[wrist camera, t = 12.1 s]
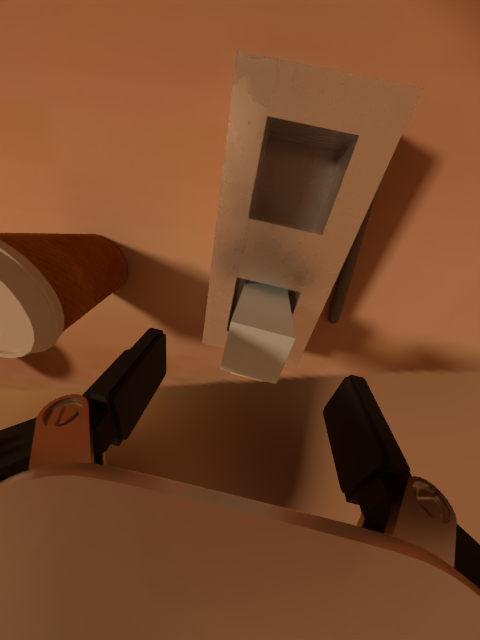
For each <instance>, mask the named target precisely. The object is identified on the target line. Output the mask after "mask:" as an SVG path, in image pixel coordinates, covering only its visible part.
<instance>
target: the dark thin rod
mask: <svg viewBox="0 0 480 640" xmlns="http://www.w3.org/2000/svg"><path fill="white" fill-rule="evenodd" d="M374 197H375V195H374ZM373 200H374V198H373ZM373 200H372V202H371V204H370V206H369V209H368V211H367V213H366V215H365V217H364V220H363V222H362V224H361V226H360V228H359V231H358V233H357V235H356V237H355V239H354V242H353V244H352V246H351V248H350V250H349V253H348V255H347V257H346V259H345V261H344V264H343V266H342V269H341V273H340V277H339V281H338V285H337V288H336V292H335V296H334V300H333V304H332V307H331V311H330V315H329V321H330V322H331V323H336V322H338V320H339V316H340V313H341V309H342V306H343V303H344V299H345V296H346V292H347V289H348V285H349V282H350V279H351V275H352V272H353V268H354V265H355V262H356V258H357V255H358V251H359V248H360V245H361V241H362V238H363V234H364V231H365V227H366V224H367V221H368V217H369V214H370V210H371V207H372V204H373Z"/></svg>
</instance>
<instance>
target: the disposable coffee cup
mask: <svg viewBox="0 0 480 640" xmlns="http://www.w3.org/2000/svg"><path fill="white" fill-rule="evenodd" d="M127 275H128V268H127V263H126V261H125V258H124V256H123V254H122V253H121V251H120V250H119V249H118V247H117V246H116V245H115V244H113V243H112V242H111V241H110V240H108V239H107V238H105V237H103V236H100V235H96V234H44V233H41V234H39V233H0V357H5V358H17V357H23V356H25V355H28V354H31V353H38V352H43V351H45V350H47V349H49V348H51V347H52V346H53V345H54V344H55V343H56V342H57V340H58V338H59V337H60V335H61V334H62V332H63V331H65V329H67V328H68V327H69V326H71V325H72V324H73V323H75V322H76V321H77V320H78V319H80V318H81V317H82V316H83V315H85V313H87V312H89V311H90V310H91V309H92V308H94V307H95V306H96V305H97V304H98V303H100V302H101V301H103V300H104V299H105V298H106V297H108V296H109V295H110V294H111V293H112V292H114V291H115V290H117V289H118V288H119V287H120V286H122V285H123V284H124V283H125V281H126V279H127Z"/></svg>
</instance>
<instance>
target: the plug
mask: <svg viewBox="0 0 480 640" xmlns="http://www.w3.org/2000/svg"><path fill="white" fill-rule="evenodd" d="M295 339H296V337H295V331H294V325H293V319H292V313H291V307H290V301H289V295H288V290H287V289H285V288H281V287H276V286H272V285H268V284H264V283H259V282H255V281H251V280H246V282H245V284H244V287H243V290H242V293H241V295H240V298H239V301H238V303H237V306H236V309H235V312H234V314H233V317H232V320H231V323H230V327H229V332H228V336H227V341H226V345H225V350H224V354H223V359H222V363H221V368H220V369H221V370H225V371H229V372H231V373H232V374H236V375H240V376H243V377H247V378H251V379H255V380H258V381H262V382H263V381H266V382H270V383H274V384H276V382H277V380H278V378H279V376H280V373H281V371H282V369H283V366H284V364H285V362H286V360H287V357H288V355H289V353H290V350H291V348H292V346H293V344H294V341H295Z"/></svg>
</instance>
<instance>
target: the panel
mask: <svg viewBox="0 0 480 640" xmlns="http://www.w3.org/2000/svg"><path fill="white" fill-rule="evenodd" d="M422 89H423V88H419V87H414V86H409V85H404V84H399V83H394V82H389V81H384V80H379V79H374V78H369V77H364V76H359V75H354V74H349V73H345V72H340V71H335V70H330V69H325V68H320V67H315V66H310V65H305V64H300V63H295V62H290V61H285V60H280V59H275V58H270V57H265V56H260V55H255V54H250V53H246V52H241V51H237V55H236V63H235V72H234V80H233V88H232V97H231V105H230V114H229V122H228V130H227V139H226V147H225V155H224V164H223V172H222V180H221V189H220V197H219V205H218V214H217V222H216V231H215V239H214V247H213V256H212V264H211V272H210V281H209V289H208V297H207V306H206V314H205V323H204V331H203V339H202V344H206V345H211V346H215V347H219V348H223V349H225V345H226V341H227V336H228V332H229V327H230V323H231V320H232V317H233V314H234V312H235V309H236V306H237V303H238V301H239V298H240V295H241V293H242V290H243V287H244V284H245V282H246V280H251V281H255V282H259V283H264V284H268V285H272V286H276V287H281V288H285V289H287V290H288V295H289V301H290V307H291V313H292V319H293V325H294V331H295V337H296V339H295V341H294V344H293V346H292V348H291V350H290V353H289V355H288V357H287V360H286V362H285V364H288V365H292V366H296V367H297V365H298V363H299V361H300V359H301V356H302V354H303V352H304V350H305V348H306V345H307V343H308V341H309V339H310V336H311V334H312V332H313V330H314V328H315V325H316V323H317V321H318V319H319V317H320V314H321V312H322V310H323V308H324V306H325V303H326V301H327V299H328V297H329V295H330V292H331V290H332V288H333V286H334V284H335V281H336V279H337V277H338V275H339V273H340V270H341V268H342V266H343V264H344V261H345V259H346V257H347V255H348V253H349V250H350V248H351V246H352V244H353V242H354V239H355V237H356V235H357V233H358V231H359V228H360V226H361V224H362V222H363V220H364V217H365V215H366V213H367V211H368V209H369V206H370V204H371V202H372V200H373V198H374V195H375V193H376V191H377V189H378V187H379V184H380V182H381V180H382V178H383V175H384V173H385V171H386V169H387V167H388V164H389V162H390V160H391V158H392V156H393V153H394V151H395V149H396V147H397V145H398V142H399V140H400V138H401V136H402V134H403V131H404V129H405V127H406V125H407V123H408V120H409V118H410V116H411V114H412V112H413V109H414V107H415V105H416V103H417V100H418V98H419V96H420V94H421V92H422Z"/></svg>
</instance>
